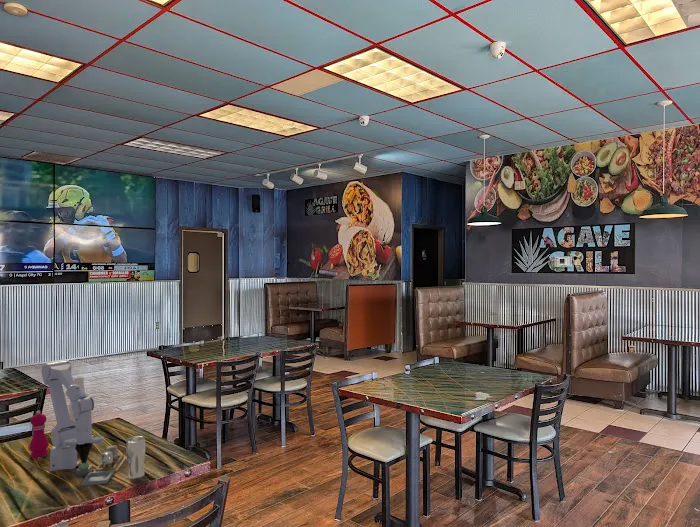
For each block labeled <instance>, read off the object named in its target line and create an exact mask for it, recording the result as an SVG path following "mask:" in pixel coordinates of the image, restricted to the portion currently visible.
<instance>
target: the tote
mask: <svg viewBox="0 0 700 527" xmlns="http://www.w3.org/2000/svg"><path fill="white" fill-rule="evenodd" d="M114 473H115V472H114V470H112V471H101V472H94V471H92V472H89V473H88V475H87V476H84V478H83V480H82V481H81V482H80V483H81V486H84V487H85V486H93V485H103V484H104V485H105V484H108V483H109V481H110V480H111V478H112V477H113V475H115V474H114Z"/></svg>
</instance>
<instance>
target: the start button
mask: <svg viewBox="0 0 700 527" xmlns="http://www.w3.org/2000/svg"><path fill="white" fill-rule="evenodd" d="M79 464H80V466H81V469H88V468H89V467H88V465H89V461H88V460H87V462H86V463H82V462H80V463H79Z"/></svg>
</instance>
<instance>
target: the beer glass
mask: <svg viewBox="0 0 700 527" xmlns="http://www.w3.org/2000/svg"><path fill="white" fill-rule="evenodd" d="M125 445H126V446H125V448H126V449H125V452H126V453H125V454H126V460H127V464H128V474H127V477H128V479H131V480H134V479H135V480H136V479H139V478H142V477H144V476H145V474H146V473H145V470H144V463H145V457H146V441H145V437H144V436H141V435H138V436H137V435H135V436H132V437H128V438H127V439H126V444H125Z"/></svg>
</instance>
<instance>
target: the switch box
mask: <svg viewBox="0 0 700 527" xmlns="http://www.w3.org/2000/svg"><path fill="white" fill-rule="evenodd" d="M93 466H94V465H93V464H88V467H89V468H88V469H81V465H80V466H79V467H78V468H77V469H76V472H75V473H76V474H75V475H76V476H75V477H86V476H87V475H88V473H89V472H94V471H93V470H94V468H93Z"/></svg>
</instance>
